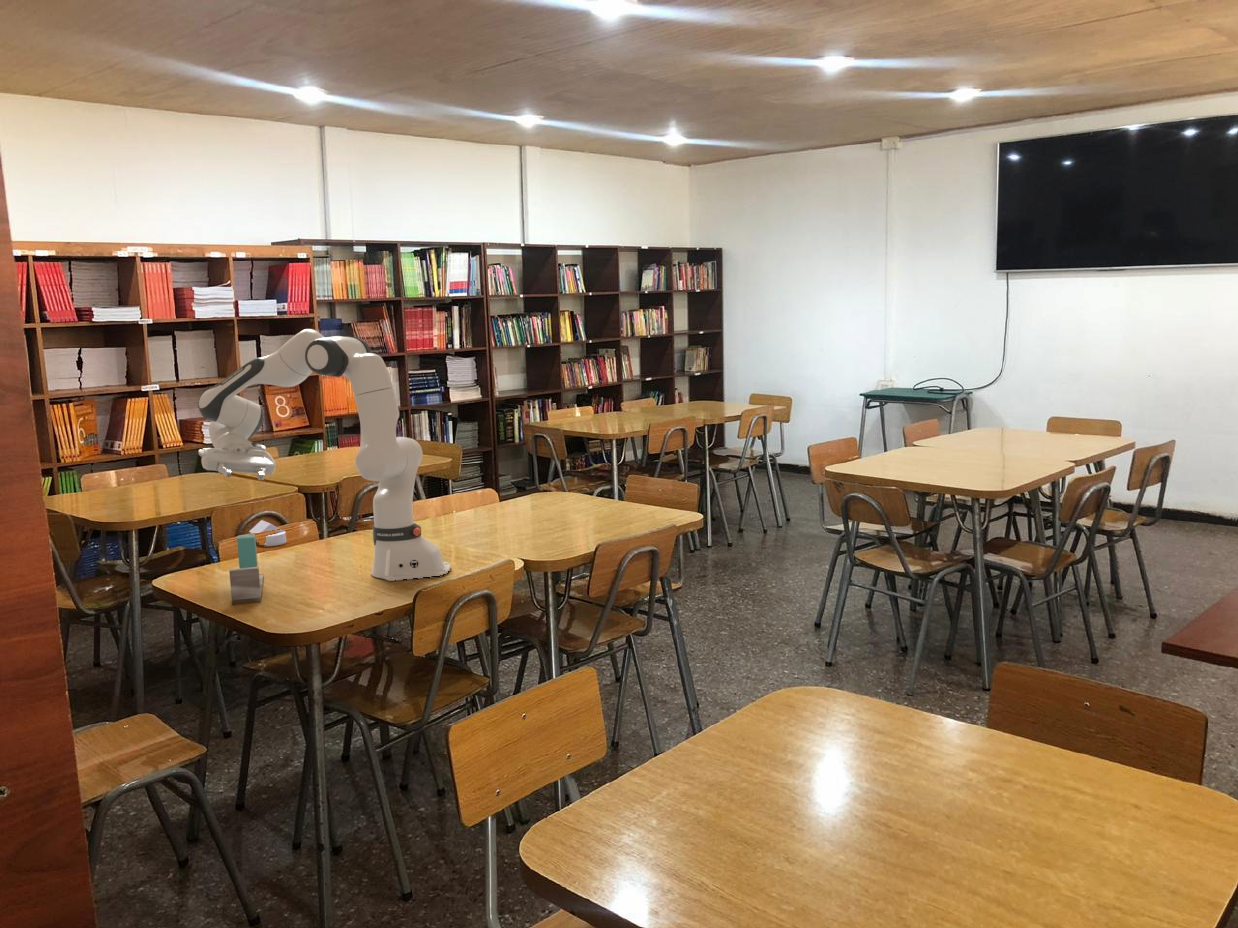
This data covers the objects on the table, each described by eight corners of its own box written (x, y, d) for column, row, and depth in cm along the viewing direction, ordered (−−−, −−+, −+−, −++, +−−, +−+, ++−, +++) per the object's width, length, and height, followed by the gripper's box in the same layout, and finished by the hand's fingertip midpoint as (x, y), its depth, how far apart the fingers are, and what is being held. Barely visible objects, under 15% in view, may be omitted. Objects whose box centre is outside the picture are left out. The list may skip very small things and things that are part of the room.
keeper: (241, 577, 267) (237, 535, 265) (258, 575, 268) (255, 534, 267) (240, 580, 263) (237, 538, 261) (257, 579, 264) (254, 537, 263)
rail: (237, 580, 269) (235, 549, 268) (263, 577, 272) (261, 547, 270) (232, 604, 245) (229, 571, 244) (260, 601, 247) (258, 568, 246)
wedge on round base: (249, 541, 320) (263, 547, 310) (248, 521, 319) (262, 527, 309) (276, 537, 326) (290, 543, 316) (274, 518, 325) (289, 523, 315)
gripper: (199, 438, 271) (210, 463, 261) (270, 446, 284) (283, 470, 274) (194, 457, 273) (204, 482, 263) (264, 464, 286) (277, 488, 277)
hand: (245, 476), depth 269 cm, fingers open, 8 cm apart
